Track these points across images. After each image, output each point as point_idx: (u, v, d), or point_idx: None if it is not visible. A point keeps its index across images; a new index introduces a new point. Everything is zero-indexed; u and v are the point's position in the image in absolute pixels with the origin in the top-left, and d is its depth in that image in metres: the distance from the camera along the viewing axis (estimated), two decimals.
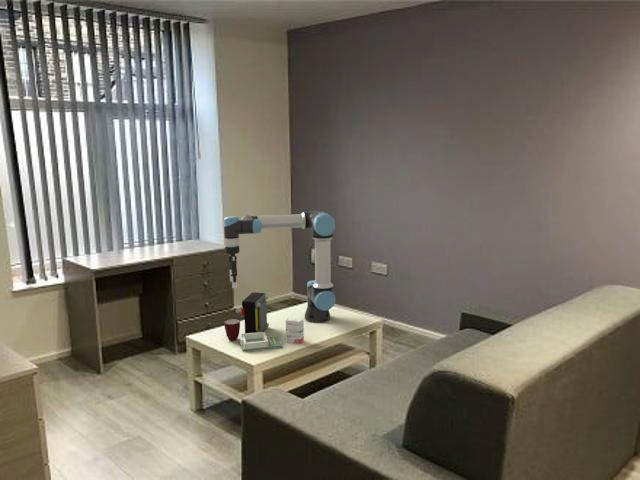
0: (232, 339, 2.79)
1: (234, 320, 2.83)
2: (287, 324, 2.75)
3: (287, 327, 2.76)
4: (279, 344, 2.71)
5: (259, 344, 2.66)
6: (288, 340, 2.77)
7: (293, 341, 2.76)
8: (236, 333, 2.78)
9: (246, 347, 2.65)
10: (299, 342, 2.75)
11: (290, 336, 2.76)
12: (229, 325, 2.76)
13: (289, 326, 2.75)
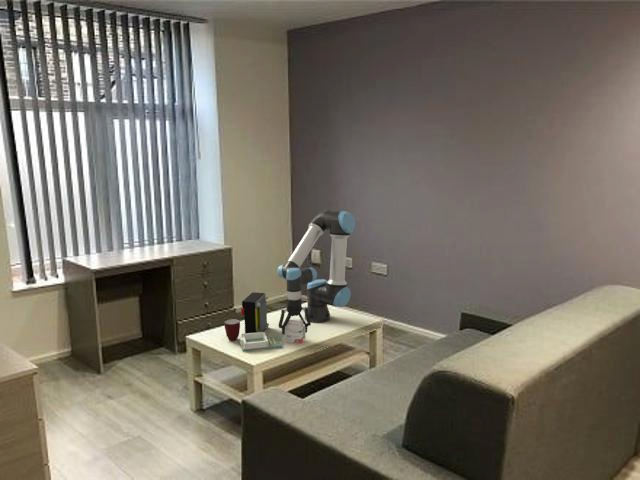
0: (232, 339, 2.79)
1: (234, 320, 2.83)
2: (287, 324, 2.75)
3: (287, 327, 2.76)
4: (279, 344, 2.71)
5: (259, 344, 2.66)
6: (288, 340, 2.77)
7: (293, 341, 2.76)
8: (236, 333, 2.78)
9: (246, 347, 2.65)
10: (299, 342, 2.75)
11: (290, 336, 2.76)
12: (229, 325, 2.76)
13: (289, 326, 2.75)
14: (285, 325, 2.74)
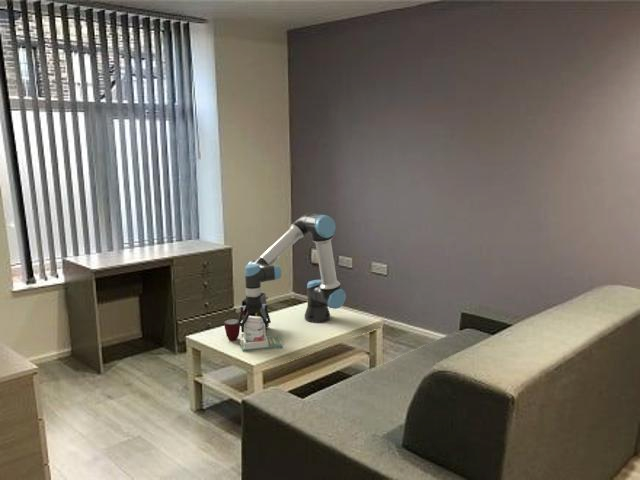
0: (232, 339, 2.79)
1: (234, 320, 2.83)
2: (246, 322, 2.70)
3: (246, 325, 2.70)
4: (279, 344, 2.71)
5: (259, 344, 2.66)
6: (248, 338, 2.71)
7: (252, 339, 2.70)
8: (236, 333, 2.78)
9: (246, 347, 2.65)
10: (258, 340, 2.69)
11: (249, 334, 2.70)
12: (229, 325, 2.76)
13: (249, 324, 2.69)
14: (244, 322, 2.69)
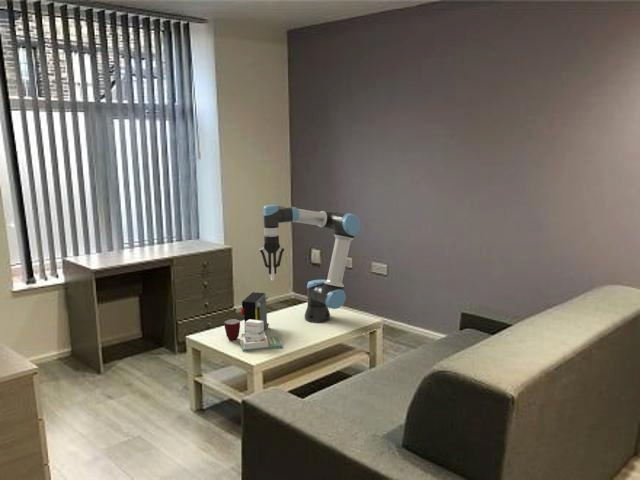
0: (232, 339, 2.79)
1: (234, 320, 2.83)
2: (247, 325, 2.70)
3: (247, 328, 2.70)
4: (279, 344, 2.71)
5: (259, 344, 2.66)
6: (248, 342, 2.71)
7: None
8: (236, 333, 2.78)
9: (246, 347, 2.65)
10: None
11: (249, 338, 2.71)
12: (229, 325, 2.76)
13: (249, 328, 2.70)
14: (270, 264, 2.73)
